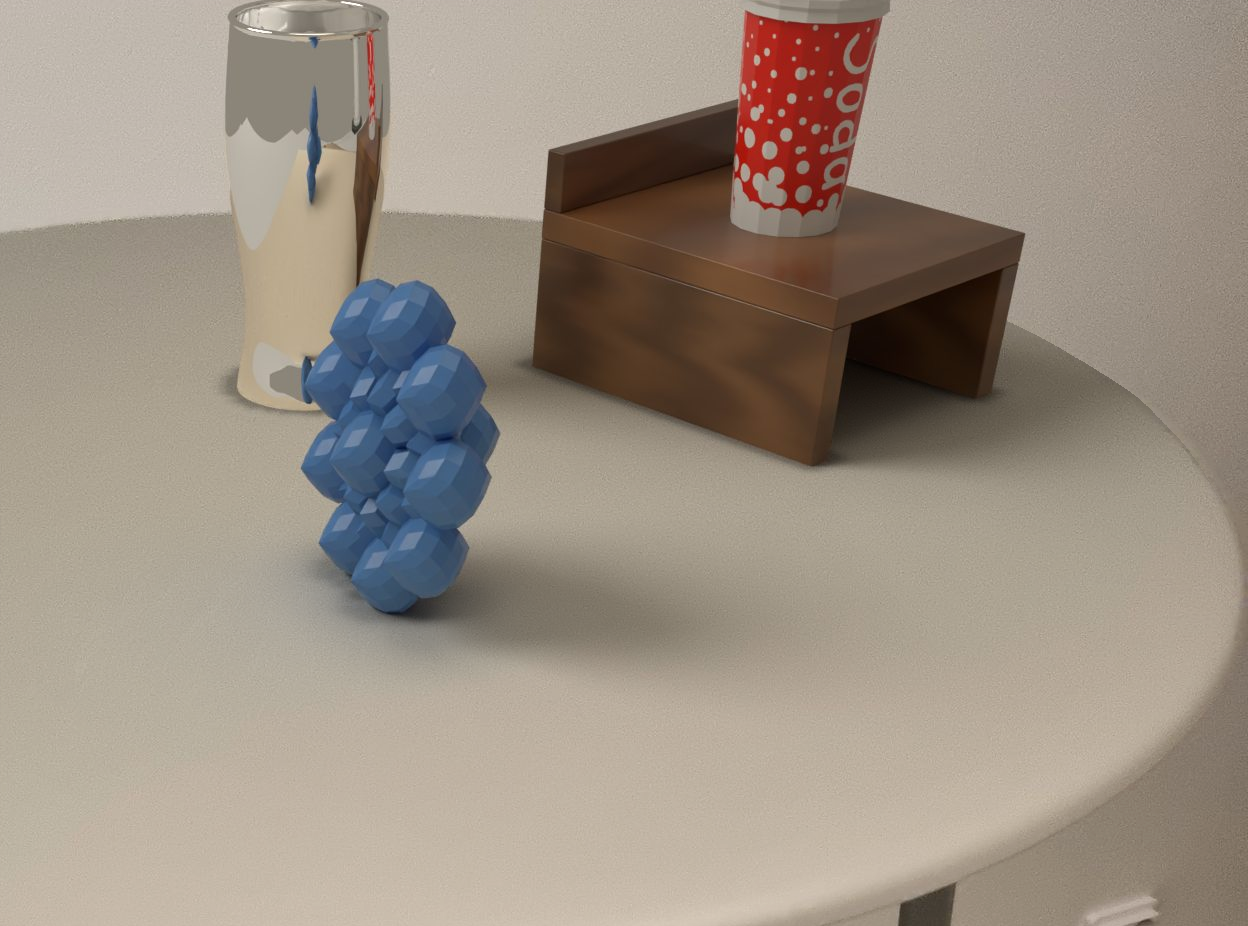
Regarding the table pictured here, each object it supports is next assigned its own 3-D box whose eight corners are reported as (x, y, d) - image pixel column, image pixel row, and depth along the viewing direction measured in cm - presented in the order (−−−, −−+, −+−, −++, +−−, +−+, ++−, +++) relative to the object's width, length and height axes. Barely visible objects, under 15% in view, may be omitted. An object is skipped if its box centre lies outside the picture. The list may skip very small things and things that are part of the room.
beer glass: (245, 360, 101) (243, -9, 91) (393, 371, 100) (407, 0, 90) (211, 413, 96) (204, 29, 86) (367, 426, 95) (378, 39, 85)
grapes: (564, 655, 78) (597, 307, 71) (395, 688, 76) (409, 334, 68) (423, 533, 86) (438, 208, 78) (266, 560, 84) (265, 230, 76)
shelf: (990, 399, 98) (1039, 171, 91) (810, 473, 91) (849, 234, 85) (713, 310, 107) (740, 97, 100) (530, 372, 100) (547, 149, 94)
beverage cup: (771, 250, 91) (827, -145, 82) (683, 212, 95) (727, -169, 86) (885, 229, 93) (952, -158, 84) (794, 192, 97) (848, -181, 88)
